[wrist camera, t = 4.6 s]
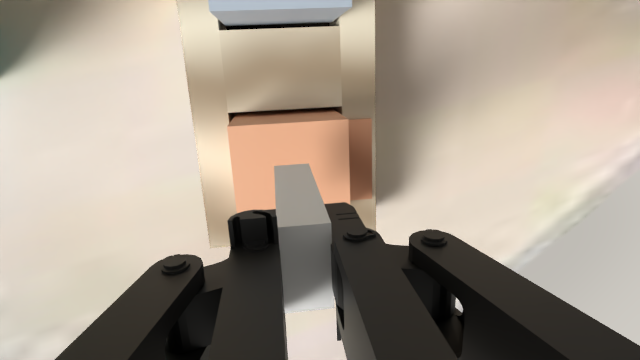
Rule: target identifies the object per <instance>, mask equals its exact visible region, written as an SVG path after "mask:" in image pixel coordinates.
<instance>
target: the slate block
mask: <svg viewBox="0 0 640 360" xmlns="http://www.w3.org/2000/svg"><path fill="white" fill-rule="evenodd" d="M208 4H209V11H210V12H211V13H212V14H213V15H214V16H215V17H216V18H217V19H218V20H220V21H221V22H222V23H223V24H224V25H225V26H243V25H271V24H300V23H328V22H333V21H334V20H335V19H337V18H338V17H339V16H341V15H342V14H343V13H345V12H346V11H347V10H349V9H350V8H351V7H352V0H208Z"/></svg>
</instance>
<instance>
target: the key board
mask: <svg viewBox="0 0 640 360" xmlns="http://www.w3.org/2000/svg"><path fill="white" fill-rule="evenodd" d="M176 2H177V10H178V17H179V24H180V32H181V39H182V46H183V53H184V61H185V68H186V75H187V82H188V90H189V97H190V104H191V112H192V119H193V126H194V133H195V141H196V148H197V155H198V162H199V170H200V177H201V184H202V192H203V199H204V206H205V213H206V221H207V228H208V235H209V242H210V248H217V247H228V246H230V238H229V230H228V222H227V221H228V219H229V218H230V217H231V216H233V215H235V214H237V211H236V202H235V193H234V184H233V175H232V166H231V158H230V149H229V140H228V131H227V126H228V125H229V123H230V122H231V121H232V119H233V118H234V117H235V112H250V111H267V110H285V109H302V108H320V107H332V108H333V109H334V110H335V111H337V112H338V113H340V114H341V115H343V116H344V117H346V118H347V119H348V125H349V168H350V205H352V206H353V207H354V208H355V210H356V211H357V213H358V215H359V217H360V218H361V220H362V222H363V224H364V225H365V227H366V228H370V229H372V230H375V231H376V147H375V0H352V7H351V8H350V9H349V10H347V11H346V12H345V13H343V14H342V15H341V16H339V17H338V18H337V19H335V20H334V21H333V22H329V26H326V27H299V28H271V29H243V30H226V26H225V25H224V24H223V23H222V22H221V21H220V20H218V19H217V18H216V17H215V16H214V15H213V14H212V13H211V12H210V11H209V4H208V0H176Z"/></svg>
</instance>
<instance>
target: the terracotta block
mask: <svg viewBox="0 0 640 360" xmlns="http://www.w3.org/2000/svg"><path fill="white" fill-rule="evenodd" d="M227 131H228V140H229V149H230V158H231V166H232V175H233V184H234V193H235V202H236V211H237V213H240V212H243V211H248V210H270V209H276V202H275V176H274V166H280V165H294V164H308V163H309V166H310V168H311V171H312V174H313V176H314V179H315V181H316V184H317V187H318V189H319V192H320V195H321V197H322V200H323V202H324V204H329V203H341V202H346V203H348V204H350V168H349V125H348V119H347V118H346V117H344V116H343V115H341V114H340V113H338V112H337V111H335V110H334V109H333V108H331V107H330V108H313V109H296V110H278V111H261V112H244V113H237V114H236V115H235V117H234V118H233V119H232V121H231V122H230V123H229V125H228V126H227Z"/></svg>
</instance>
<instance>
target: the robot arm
mask: <svg viewBox="0 0 640 360" xmlns="http://www.w3.org/2000/svg"><path fill="white" fill-rule="evenodd" d="M274 176H275V202H276V209H270V210H248V211H243V212H240V213H237V214H235V215H233V216H231V217H230V218H229V219H228V221H227V222H228V230H229V238H230V246H231V250H230V255H229V258H228V259H226V260H224V261H222V262H219V263H216V264H213V265H209V266H205V267H203V262H202V260H201V258H199V257H197V256H195V255H188V254H186V255H180V254H177V255H174V256H169V257H166V258H165V259H163V260H160V261H158V262H157V263H155V264H154V265H152V266H151V267H150V268H149V269H148V270H147V271H146V272H145V273H144V274H143V275H142V276H141V277H140V278H139V279H138V280H137V281H135V282H134V283H133V284H132V285H131V286H130V287H129V288H128V289H127V290H126V291H125V292H124V293H123V294H122V295H121V296H120V297H119V298H118V299H117V300H116V301H115V302H114V303H113V304H112V305H111V306H110V307H109V308H108V309H107V310H106V311H104V312H103V313H102V314H101V315H100V316H99V317H98V318H97V319H96V320H95V321H94V322H93V323H92V324H91V325H90V326H89V327H88V328H87V329H86V330H85V331H84V332H83V333H82V334H81V335H80V336H79V337H78V338H77V339H76V340H74V341H73V342H72V343H71V344H70V345H69V346H68V347H67V348H66V349H65V350H64V351H63V352H62V353H61V354H60V355H59V356H58V357H57V358H56V359H55V360H288V353H287V338H286V322H285V313H294V312H303V311H312V310H321V309H329V308H334V297H335V300H336V317H337V341H340V340H341V337H342V341H343V345H344V349H345V353H346V357H347V360H640V346H639V345H637V344H635V343H634V342H632V341H631V340H629V339H627V338H626V337H624V336H622V335H620V334H619V333H617V332H615V331H614V330H612V329H610V328H609V327H607V326H605V325H603V324H602V323H600V322H599V321H597V320H595V319H593V318H592V317H590V316H588V315H586V314H585V313H583V312H581V311H580V310H578V309H577V308H575V307H573V306H571V305H570V304H568V303H566V302H565V301H563V300H561V299H560V298H558V297H556V296H555V295H553V294H551V293H550V292H548V291H546V290H544V289H543V288H541V287H539V286H538V285H536V284H534V283H533V282H531V281H529V280H528V279H526V278H524V277H522V276H521V275H519V274H517V273H516V272H514V271H512V270H511V269H509V268H507V267H506V266H504V265H502V264H501V263H499V262H497V261H495V260H494V259H492V258H490V257H489V256H487V255H485V254H484V253H482V252H480V251H479V250H477V249H475V248H474V247H472V246H470V245H468V244H467V243H465V242H463V241H462V240H460V239H458V238H457V237H455V236H453V235H451V234H448V233H446V232H441V231H439V230H432V229H428V230H425V231H418V232H416V233H413V234H412V235H411V236H410V237H409V246H400V245H390V244H385V242H384V241H383V239H382V237H381V236H380V234H379V233H377V232H376V231H375V230H372V229H370V228H366V227H365V225H364V224H363V222H362V220H361V218H360V217H359V215H358V213H357V211H356V210H355V208H354V207H353V206H352V205H350V204H348V203H346V202H341V203H329V204H324V202H323V200H322V197H321V195H320V192H319V189H318V187H317V184H316V181H315V179H314V176H313V174H312V171H311V168H310V166H309V163H308V164H294V165H280V166H274ZM456 298H457V299H458V300H459V301H460V303H461V305H462V307H463V313H462V312H460V311H459V310H458V309H456V308H455V300H456Z"/></svg>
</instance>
